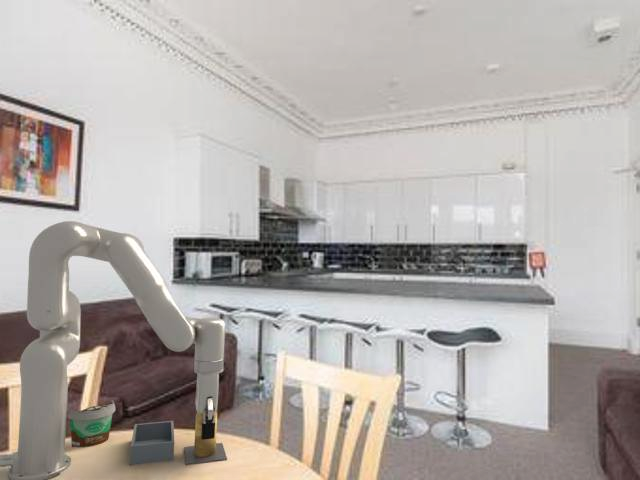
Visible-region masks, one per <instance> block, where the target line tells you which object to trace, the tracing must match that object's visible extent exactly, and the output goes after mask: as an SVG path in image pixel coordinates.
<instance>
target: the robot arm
mask: <svg viewBox="0 0 640 480" xmlns="http://www.w3.org/2000/svg"><path fill="white" fill-rule="evenodd" d="M28 254H29V256H28V278H27V279H28V280H27V296H26V298H27V302H26V303H27V304H26V318H27V321H28V324H29V325H30V327H32V328H33V329H35V330H37V331H39V338H36V339H35V340H33V341H32V342H30V343H29V344H28V345H27V346H26V347H25V348H24V350H23V352H22V353H21V356H20V361H19V374H20V375H19V377H20V383H21V385H20V387H21V388H20V407H19V408H20V409H19V424H18V425H19V426H18V427H19V428H18V443H17V452H16V451H14V452H13V453H12V454H11V453H10V454H0V468H4V467H9V469H8V472H7V474H8V475H7V477H8V479H10V480H47V479H50V478H54V477H56V476H58V475H60V474H61V473H63V472H64V471H66V470H67V469H68V468H69V467H70V466H71V464H72V458H71V456H70V455H68V454H65V447H66V430H67V429H66V428H67V416H68V415H67V410H68V394H69V393H68V392H69V391H68V389H69V388H68V387H69V383H68V381H69V380H68V366H69V365H71V363H73V361H74V360H75V359H76V358H77V356H78V354H79V353H80V352H79V351H80V348H81V347H80V346H81V323H82V321H81V317H82V316H81V313H82V311H81V304H80V300H79V298H78V296H77V295H76V294H74V293H73V292H72V291H70V269H69V261H70V259H71V258H72V257H85V258H89V259H94V260H98V261H103V262H107V263H108V262H109V264H110V266H111V267H112V268H113V270H114V272H116V275H117V276H118V277H119V279H121V281H122V282H123V284H124V285H125V287H126V288H127V290H128V291H129V292H130V293H131V295H132V297H133V298H134V301H135V302H136V304H137V306H138V307H139V308H140V310H141V312H142V313H143V315H144V317H145V319H146V320H147V322H148V324H149V326H150V327H151V328H152V330H153V331H154V332H155V334H156V335H157V337H158V338H159V339H160V340H161V342H162V343H163V345H164V346H165V347H166V348H167V349H169V350H171V351H173V352H184V351H186V350H188V349H189V348H190V347H191V346H192V345H193V344H194V345H195V346H194V361H193V362H194V363H193V366H194V367H193V372H194V373H195V374H197V377H196V386H195V387H196V389H195V409H196V413H198V414H200V413H203V423H202V434H201V438H202V440H205V439H213V438H214V437H215V414H214V413H215V412H217V411H218V402H219V401H218V400H219V386H220V385H219V379H220V376H219V375H220V373H223V372H224V366H225V365H224V362H225V360H224V359H225V339H226V337H225V336H226V322H225V320H224V319H222V318H219V317H204V318H203V317H202V318H198V317H190V316H184V315H183V313H182V311H181V310H180V309H179V308H178V306H177V304H176V303H175V301H174V299H173V298H172V296H171V293H170V291H169V288H168V285H167V282H166V280H165V278H164V276H163V275H162V273H160V271H159V269H158V268H157V267H156V266H155V263H153V261H152V260H151V258H150V256H149V255H148V254H147V252H146V251H145V249H144V245H143V242H142V241H141V240H140V239H139V237H137V236H135V235H133V234H130V233H126V232H122V233H121V232H117V231H114V230H113V231H112V230H110V229H109V230H108V229H105V228H102V227H101V228H100V227H96V226H93V225H89V224H87V223H86V224H85V223H82V222H79V221H75V220H73V221H72V220H68V221H67V220H66V221H61V222H57V223H55V224H52V225H50V226H48V227H46V228H44V230H42V231H41V232H39V234H37V236H36V237H35V238H34V240H33V241H32V244H31V247H30V250H29V253H28ZM206 414H208V415H206Z"/></svg>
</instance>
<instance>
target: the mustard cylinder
mask: <svg viewBox="0 0 640 480" xmlns="http://www.w3.org/2000/svg"><path fill="white" fill-rule="evenodd" d="M214 414H215V437H214V438H213V439H205V440H202V438H201V434H202V423H203V413H200V414H198V413H197V412H196V413H195V421H194V422H195V427H194V445H193V446H194V455H195V456H197V457H210V456H212V455H214V454H215V453H216V443H217V432H218V431H217V429H218V412H217V411H216V412H215V413H214ZM206 415H208V414H206Z"/></svg>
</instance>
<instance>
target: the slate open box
mask: <svg viewBox="0 0 640 480" xmlns="http://www.w3.org/2000/svg"><path fill="white" fill-rule="evenodd" d="M174 423H175V422H174V420H167V421H155V422H148V423H147V422H145V423H135V424H134V427H133V432H132V437H131V442H130V450H129V451H130V453H129V454H130V457H129V466H135V465H143V464H151V463H159V462H169V461H174V458H175V455H174V454H175V426H174V425H175V424H174Z"/></svg>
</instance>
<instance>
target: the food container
mask: <svg viewBox="0 0 640 480" xmlns="http://www.w3.org/2000/svg"><path fill="white" fill-rule="evenodd" d="M115 412H116V405H115V402H114V400H112V399H111V401H110V403H106V404H103V405H94V406H89V407H87V408H85V409H82V410H78V411H76V410H72V409H70V410H69V412H68V415H67V419H69V420H70V421H69V422H70V442H71V443H70V444H71V447H72V448H74V447H77V448H89V447H96V446H99V445H100V444H103V443H106V442H107V441H108V440H109V438H110V431H111V426H112V420H113V419H112V418H113V414H114V413H115Z"/></svg>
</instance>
